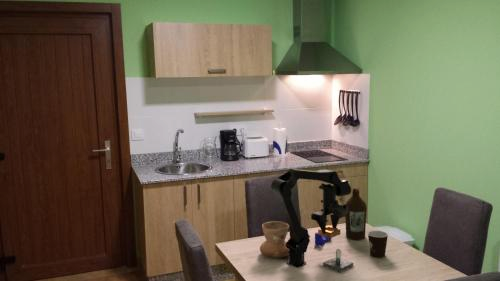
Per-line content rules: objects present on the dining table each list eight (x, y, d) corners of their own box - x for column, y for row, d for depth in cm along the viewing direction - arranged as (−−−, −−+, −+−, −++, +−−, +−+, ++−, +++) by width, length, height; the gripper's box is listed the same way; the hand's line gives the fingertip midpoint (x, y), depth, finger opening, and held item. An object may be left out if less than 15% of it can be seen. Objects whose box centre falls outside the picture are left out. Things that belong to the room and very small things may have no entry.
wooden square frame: (330, 238, 199) (330, 232, 199) (318, 234, 204) (318, 228, 204) (340, 234, 204) (340, 228, 203) (328, 230, 209) (328, 225, 208)
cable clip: (322, 237, 229) (322, 225, 228) (331, 238, 227) (331, 227, 226) (312, 244, 219) (312, 232, 219) (320, 246, 217) (320, 234, 216)
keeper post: (340, 272, 187) (340, 255, 186) (323, 265, 194) (323, 249, 193) (353, 266, 193) (353, 249, 192) (336, 260, 200) (336, 243, 199)
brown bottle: (343, 233, 233) (343, 186, 230) (364, 233, 233) (364, 185, 229) (346, 240, 223) (346, 191, 219) (368, 240, 222) (369, 191, 219)
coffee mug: (388, 259, 199) (388, 237, 198) (368, 258, 201) (368, 236, 199) (386, 249, 210) (386, 228, 209) (366, 248, 212) (367, 228, 211)
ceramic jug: (292, 262, 199) (292, 230, 197) (259, 262, 199) (259, 230, 198) (290, 247, 217) (290, 218, 215) (260, 247, 217) (259, 218, 216)
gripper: (330, 205, 189) (330, 241, 192) (356, 197, 202) (356, 230, 204) (310, 200, 198) (310, 235, 200) (336, 192, 210) (336, 225, 212)
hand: (329, 231), depth 204 cm, fingers closed on wooden square frame, 7 cm apart
